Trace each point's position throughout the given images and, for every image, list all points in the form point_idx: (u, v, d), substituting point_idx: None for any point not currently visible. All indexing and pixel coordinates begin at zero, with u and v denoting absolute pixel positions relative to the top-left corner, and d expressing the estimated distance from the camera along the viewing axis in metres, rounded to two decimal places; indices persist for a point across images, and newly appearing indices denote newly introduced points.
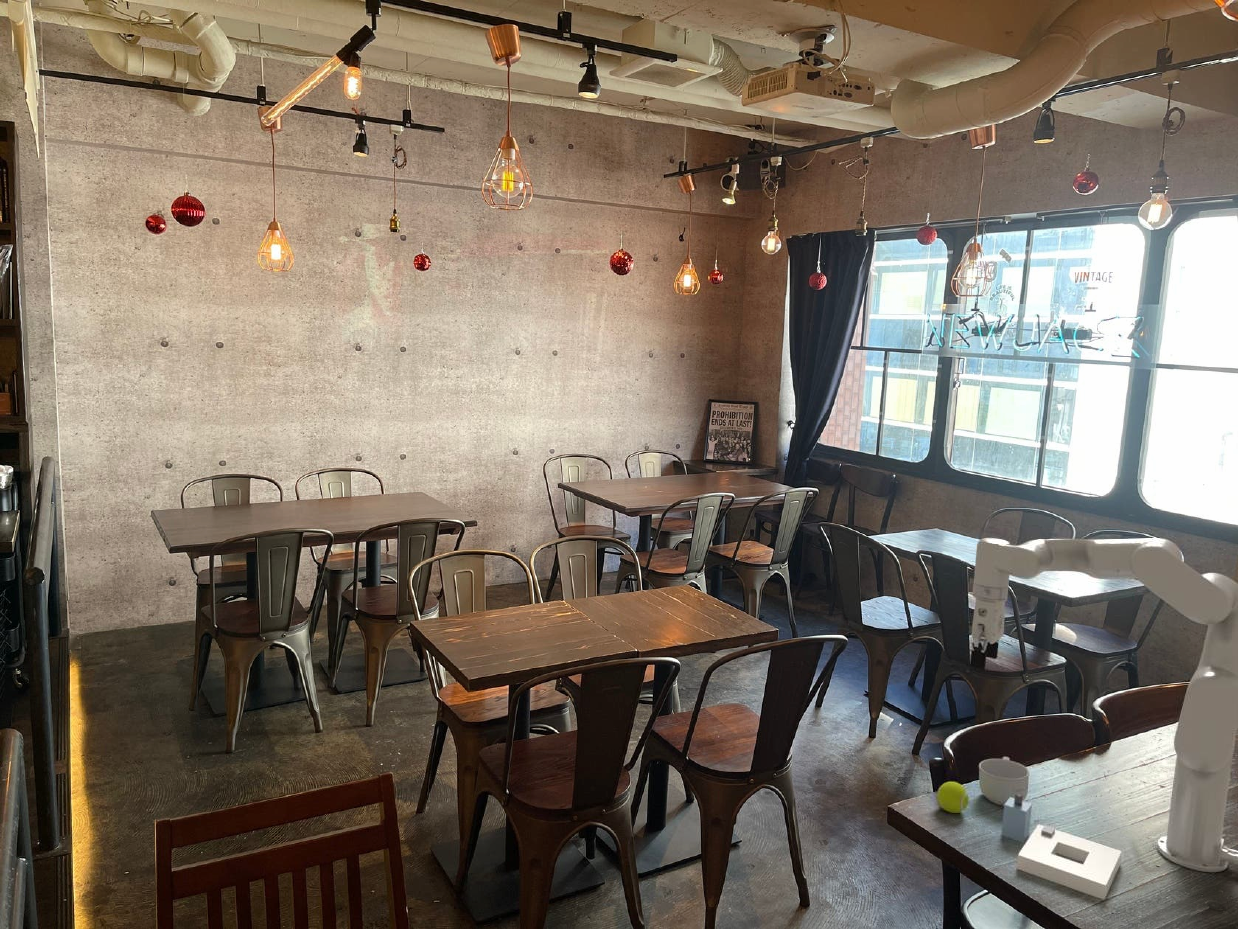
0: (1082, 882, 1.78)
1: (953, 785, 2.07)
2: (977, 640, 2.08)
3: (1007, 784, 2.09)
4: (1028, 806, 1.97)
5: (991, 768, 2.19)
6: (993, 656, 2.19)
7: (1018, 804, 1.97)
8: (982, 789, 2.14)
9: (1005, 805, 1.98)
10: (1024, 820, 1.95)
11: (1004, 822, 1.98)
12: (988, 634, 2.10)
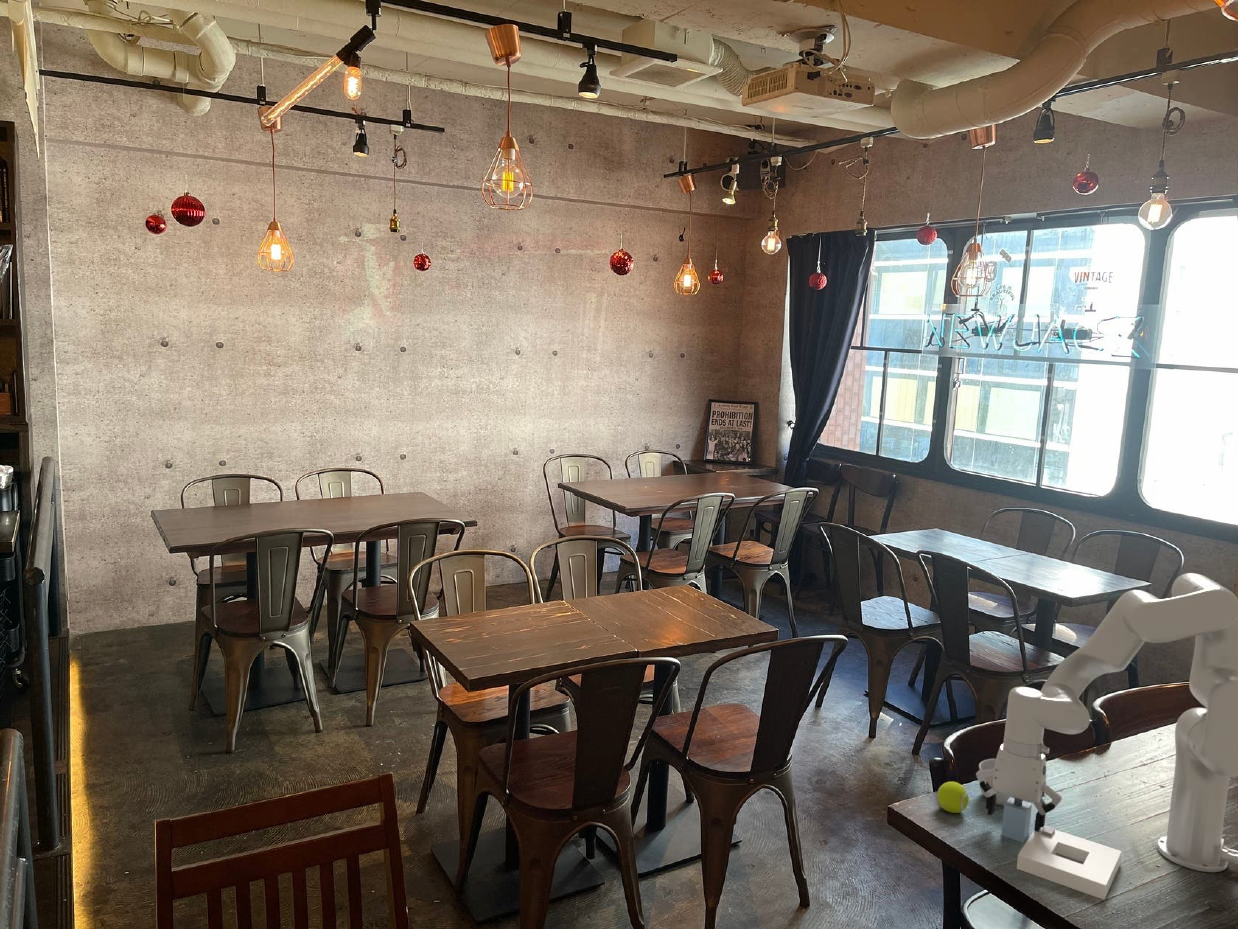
0: (1082, 882, 1.78)
1: (953, 785, 2.07)
2: None
3: None
4: (1028, 806, 1.97)
5: (991, 768, 2.19)
6: (994, 809, 2.02)
7: (1018, 804, 1.97)
8: (982, 789, 2.14)
9: (1005, 805, 1.98)
10: (1024, 820, 1.95)
11: (1004, 822, 1.98)
12: None
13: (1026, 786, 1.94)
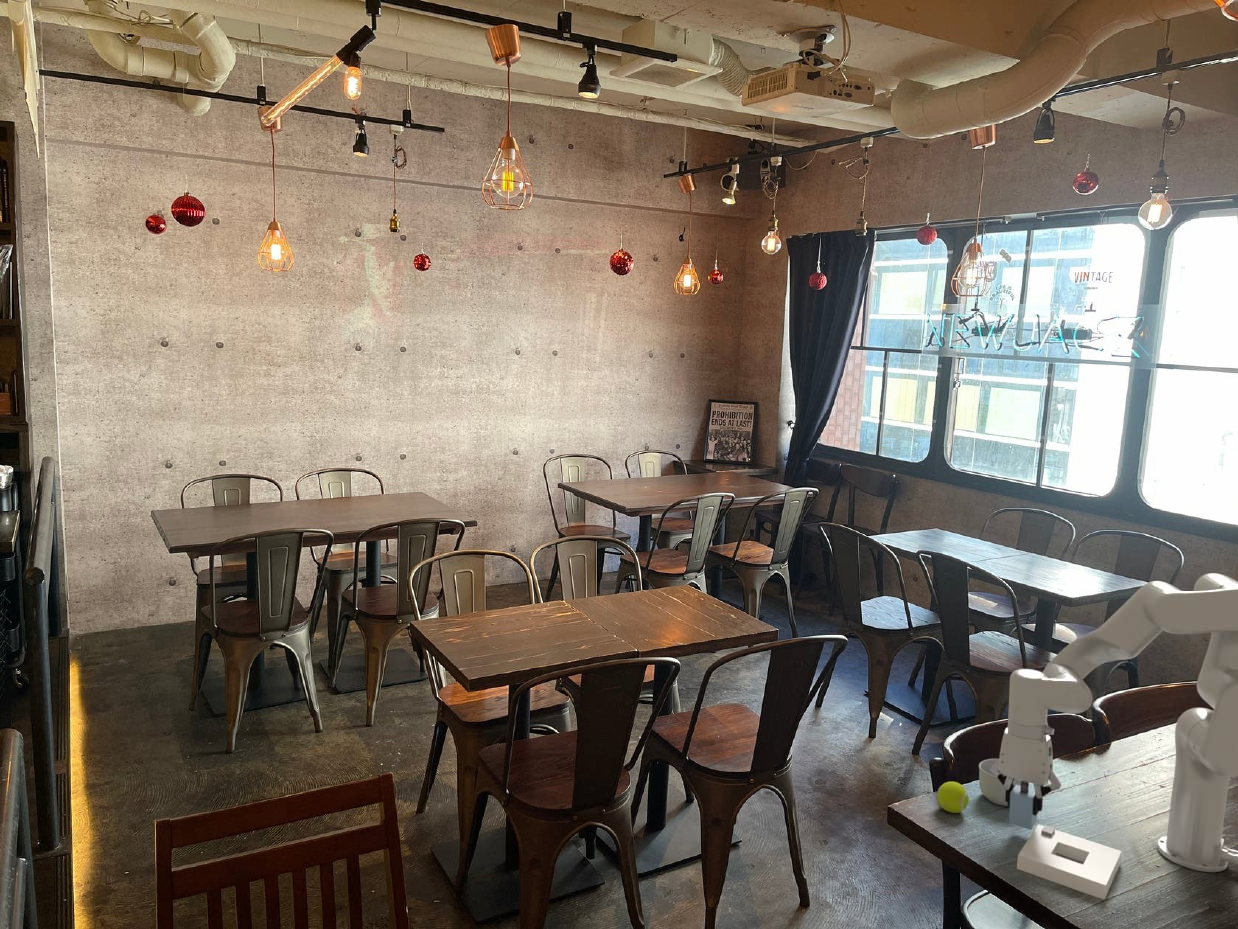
0: (1082, 882, 1.78)
1: (953, 785, 2.07)
2: None
3: None
4: (1034, 793, 1.97)
5: None
6: None
7: (1024, 791, 1.97)
8: (982, 789, 2.14)
9: (1011, 792, 1.97)
10: (1031, 807, 1.95)
11: (1011, 810, 1.97)
12: (1052, 770, 1.95)
13: (1033, 768, 1.94)
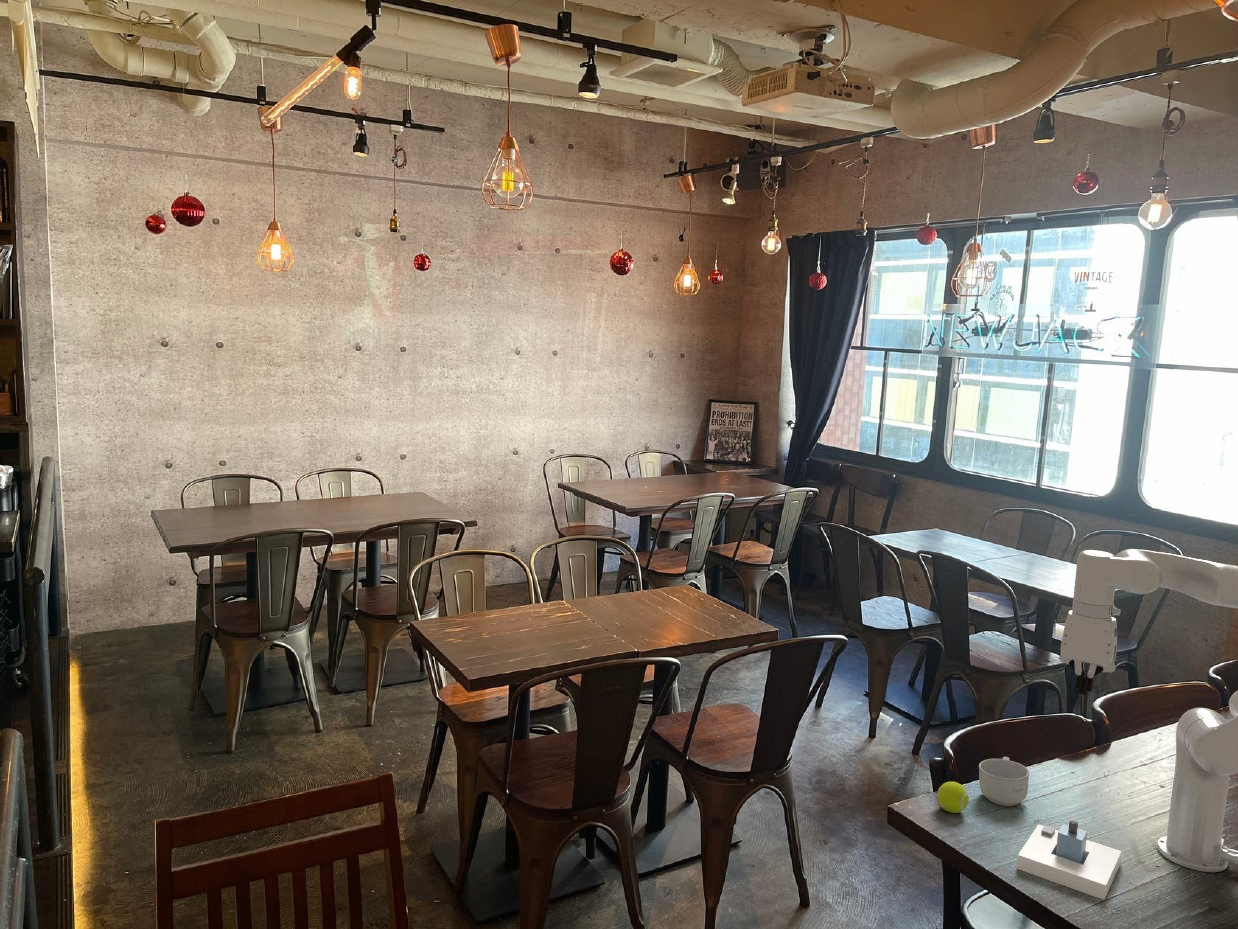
0: (1082, 882, 1.78)
1: (953, 785, 2.07)
2: None
3: (1007, 784, 2.09)
4: (1083, 834, 1.85)
5: (991, 768, 2.19)
6: None
7: (1073, 832, 1.85)
8: (982, 789, 2.14)
9: (1059, 833, 1.86)
10: (1080, 849, 1.83)
11: (1058, 851, 1.86)
12: None
13: (1097, 649, 1.91)
